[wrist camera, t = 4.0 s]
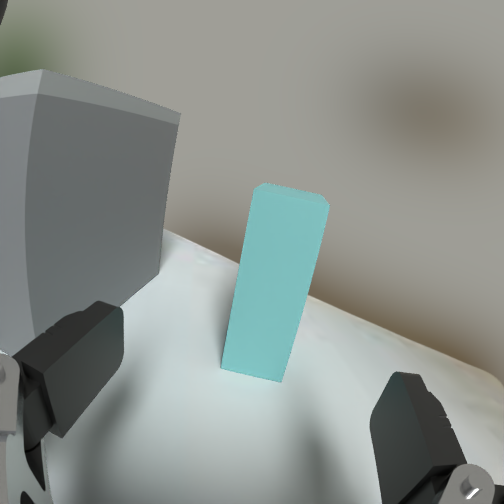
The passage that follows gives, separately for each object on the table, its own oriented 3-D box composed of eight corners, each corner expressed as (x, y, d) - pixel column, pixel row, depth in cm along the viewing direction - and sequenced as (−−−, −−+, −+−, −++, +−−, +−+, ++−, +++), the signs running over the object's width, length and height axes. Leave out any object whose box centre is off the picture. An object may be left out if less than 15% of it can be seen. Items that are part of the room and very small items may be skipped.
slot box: (-62, 302, 14) (-67, 97, 10) (58, 245, 29) (70, 108, 25) (42, 374, 13) (43, 69, 9) (158, 273, 28) (180, 113, 24)
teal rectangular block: (220, 368, 17) (253, 188, 14) (236, 326, 22) (264, 182, 19) (281, 382, 17) (330, 205, 14) (285, 338, 22) (321, 195, 19)
